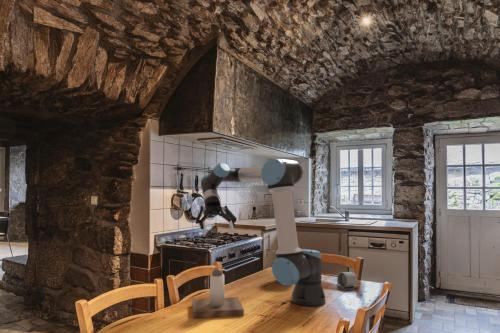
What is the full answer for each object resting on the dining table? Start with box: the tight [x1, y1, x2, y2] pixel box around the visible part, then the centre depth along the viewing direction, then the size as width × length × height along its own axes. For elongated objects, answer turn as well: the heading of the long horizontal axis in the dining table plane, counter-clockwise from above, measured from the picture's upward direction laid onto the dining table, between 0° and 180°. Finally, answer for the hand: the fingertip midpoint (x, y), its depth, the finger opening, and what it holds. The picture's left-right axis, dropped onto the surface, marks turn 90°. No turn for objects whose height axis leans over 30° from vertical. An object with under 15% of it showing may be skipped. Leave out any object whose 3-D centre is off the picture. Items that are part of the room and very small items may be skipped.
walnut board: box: [191, 296, 245, 319], centre depth 149 cm, size 20×16×2 cm
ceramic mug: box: [336, 271, 359, 289], centre depth 187 cm, size 11×8×8 cm
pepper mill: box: [209, 267, 225, 307], centre depth 150 cm, size 6×6×15 cm
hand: (219, 233), depth 168 cm, fingers open, 13 cm apart
